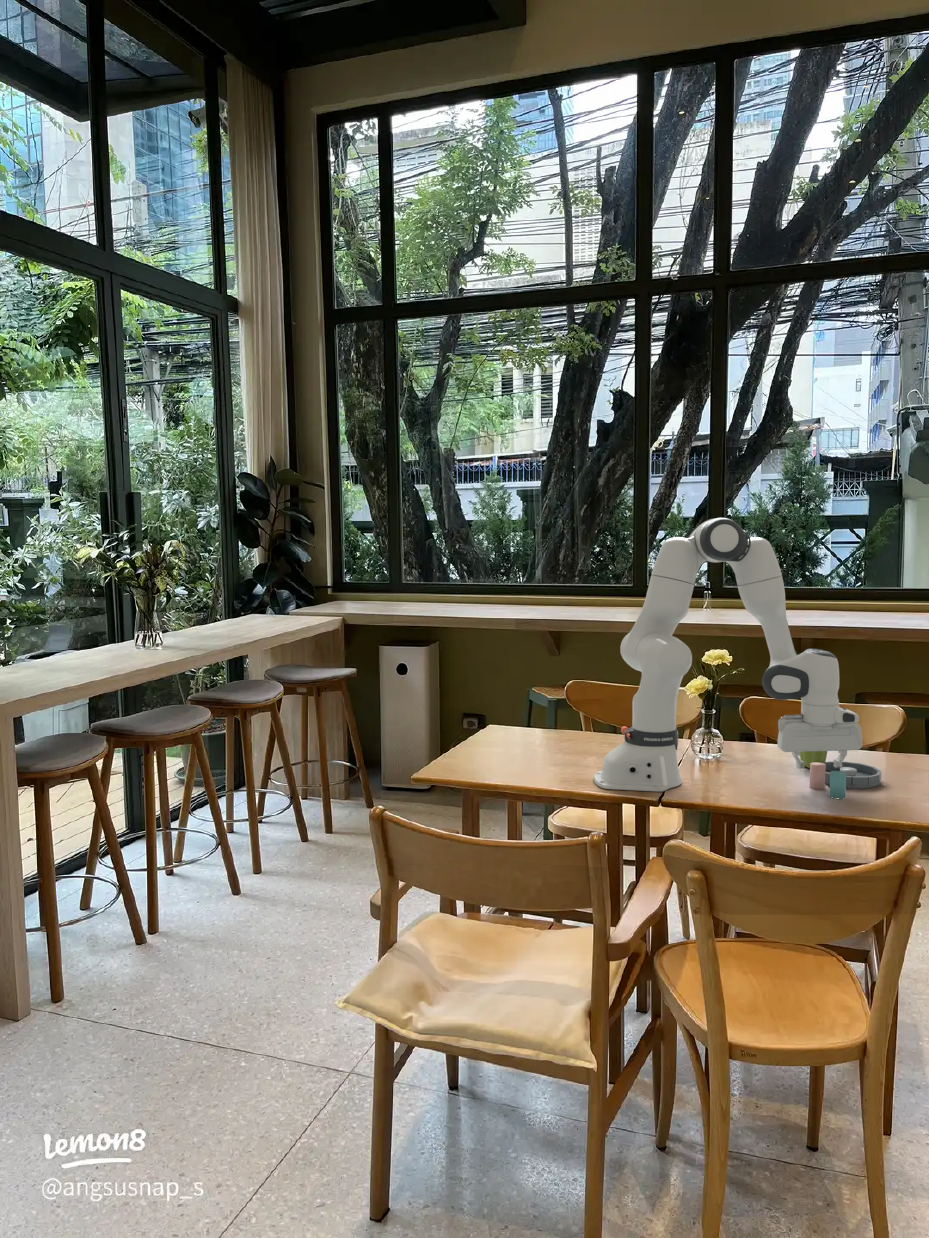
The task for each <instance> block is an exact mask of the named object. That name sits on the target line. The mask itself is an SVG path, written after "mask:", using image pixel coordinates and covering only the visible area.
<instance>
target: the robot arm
mask: <svg viewBox="0 0 929 1238" xmlns="http://www.w3.org/2000/svg"><path fill="white" fill-rule="evenodd" d="M659 549H660V550H659V552H658V554H657V557H656V559H655V562H654V564H653V569H652V570H651V571H652V572H651V576H650V579H649V583H648V587H647V591H646V596H645V599H644V603H643V604H642V608H641V610H640V612H639V615H638V616H637V619H636V621H635V623H634V624H633V626H632V629H631V630H630V631H629V632H628V633H627V634H626V635H625V636H624V637H623V638H622V640H621V642H620V652H619V653H620V655H621V658H622V659H623V660H624V662H625V663H626V664H627V665H628V666H629V667H631V668H632V669H633V670H635V671H637V672H638V671H639V672H641V677H640V682H639V686H638V689H637V692H636V693H635V694H634V695H633V697H632V723H631V724H632V726H631V727H627V726H625V725H624V726H622V727H620V732H621V734H622V735H623V736H624V737H623V738H624V741H623V742H622V743H620V744H619V745H617V746H616V747H615V748H614V749H612V750H611V751H610V752H607V754H606V755H605V757H604V759H603V761H602V767H601V768H602V769H601V770H598V771H596V772H595V773H594V774H593V782H594V783H595V784H596V786H598V787H600V788H602V789H604V790H606V789H607V790H621V791H622V790H624V791H625V790H626V791H640V792H642V791H643V792H665V791H667V790H668V789H671V788H676V787H679V786H680V785H681V784H682V782H683V781H682V777H681V773H680V769H679V764H678V763H679V762H678V755H677V753H678V747H679V731H678V729H677V705H678V704H677V703H678V701H677V700H678V695H679V691H680V687H681V683H682V680H683V678H684V676H685V675H686V674H687V673H688V672H689V670H690V668H691V667H692V663H693V654H692V651H691V649H690V647H689V646H688V645H687V644H686V643H685V642H683V641H682V640H680V639H679V638H678V637H676V636H673V634H674V633H675V630H676V628H677V627H678V625H679V624H680V622H681V621H682V620H683V619H684V618H685V617H686V616H687V615H688V612H689V608H690V604H691V600H692V595H693V592H694V588H695V583H696V579H697V574H698V572H699V569H700V567H701V566H702V565H703V564H704V563H722V562H723V563H724V562H725V563H727V564H728V565H730V567H731V569H732V571H733V573H734V576H735V580H736V584H737V589H738V594H739V596H740V599H741V602H742V603H743V606H744V609H746V611H747V613H749V614H751V616H753V617H754V618H755V619H756V620H757V621H758V623H759V624H760V626H761V628H762V630H763V634H764V636H765V641H766V644H767V648H768V651H769V656H770V657H769V658H770V659H769V660H770V661H769V666H768V668H766V669H765V671H764V673H763V675H762V676H761V677H762V678H761V684H762V685H761V686H762V688H763V690H764V692H765V693H766V694H767V696H769V697H770V698H772V699H774V700H777V701H788V700H796V699H801V703H800V706H801V707H800V708H801V709H800V714H784V716H781V717H780V718H779V719H778V721H777V729H778V735H777V747H778V748H779V750H781V751H782V752H784V753H791V755H792V757H793V758H794V760H795V766H796V769H799V770H802V769H803V770H804V769H805V767H804V762H803V761H802V760H800V752H807V751H827V752H837V753H839V755H838V757H837V759H833V762H834V767H835V768H842V762H843V761H844V760H845V759H846V757H847V755H848V752H849V751H860V750H861V748H862V747H863V735H862V734H863V733H862V732H863V731H862V726H861V725H860V724H859V723H858V722H859V721H860V716H859V715H858V714H857V713H856V712H854V711H852V710H850V709H847V708H844V707H840V699H839V696H838V694H839V693H838V692H839V689H840V665H839V661H838V658H837V657H836V655H834V653H832V652H830V651H827V650H824V649H819V648H807V649H805V650H804V651H803V652H801V653H799V654H798V652H797V651H796V649H795V646H794V642H793V638H792V633H791V630H790V627H789V622H788V618H787V609H786V608H787V607H786V591H785V585H784V583H785V582H784V579H783V574H782V570H781V567H780V564H779V561H778V558H777V556H776V553H775V551H774V549H773V547H772V544H771V543H770V541H768V539H765V538H763V537H759V536H753V537H750V535H748V533H747V532H745V530H744V529H743V528H742V527H741V526H740V525H739V524H738V522H735V521H734V520H733V519H730V518H727V517H717V518H710V519H707V520H705V521H704V522H702V523H701V524H699V525H697V526H696V527H695V528H694V529H693V530H692V531H691V532H690V533H689V534H688V535H687V536H686V537H682V536H675V537H670V538H668V539H666V540H665V541H663V543H662V544H661V547H660V548H659Z"/></svg>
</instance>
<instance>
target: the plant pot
mask: <svg viewBox="0 0 929 1238" xmlns="http://www.w3.org/2000/svg"><path fill="white" fill-rule="evenodd" d="M827 755H828V751H807V752H800V756H799V759H800V760H802V761H803V762H804V768H808V769H810V763H814V762H817V763H825V762H827V758H828V756H827Z"/></svg>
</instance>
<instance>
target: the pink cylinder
mask: <svg viewBox="0 0 929 1238" xmlns="http://www.w3.org/2000/svg"><path fill="white" fill-rule="evenodd" d="M809 769H810V770H809V788H810V789H811V790H822V791H823V790H825V789H826V784H825V770H826V765H825V764H823V763H817V762H814V763H810V768H809Z"/></svg>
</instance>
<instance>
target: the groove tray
mask: <svg viewBox="0 0 929 1238" xmlns="http://www.w3.org/2000/svg"><path fill="white" fill-rule="evenodd" d="M823 764H825V765H826V770H825V785H826V786H830V772H831V771H842V772H845V773H846V789H849V790H867V789H873V788H874V789H875V788H877V787H879V786H881V780H882V770H880V769H878V768H877V767H876V766H873V765H869V764H865V763H860V762H851V761H844V760H843V761H842V768H835V767H834V761H826V762H825V763H823Z"/></svg>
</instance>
